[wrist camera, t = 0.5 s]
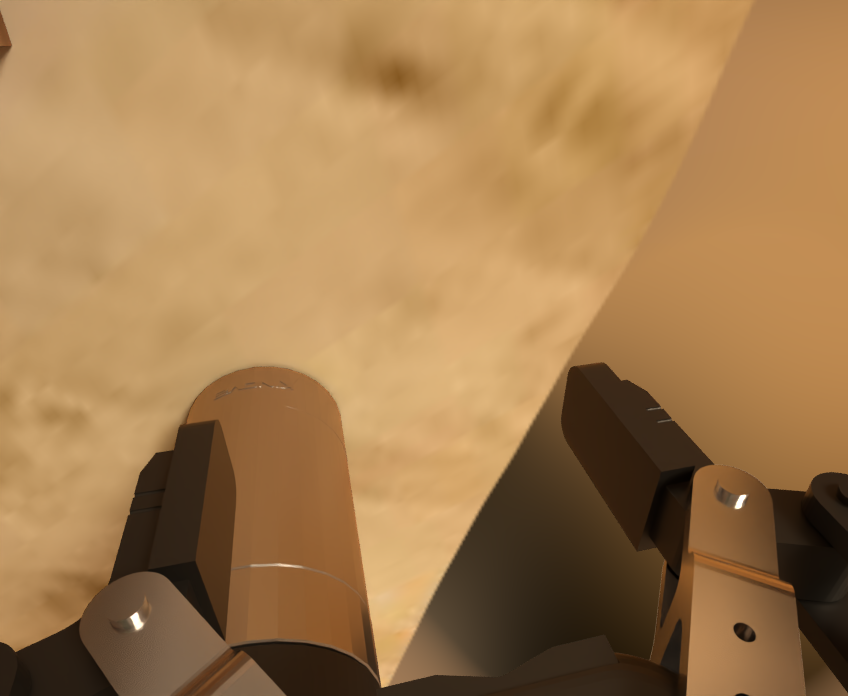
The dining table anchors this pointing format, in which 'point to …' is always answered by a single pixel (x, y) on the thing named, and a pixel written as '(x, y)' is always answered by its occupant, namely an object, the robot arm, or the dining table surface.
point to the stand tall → (4, 34)
